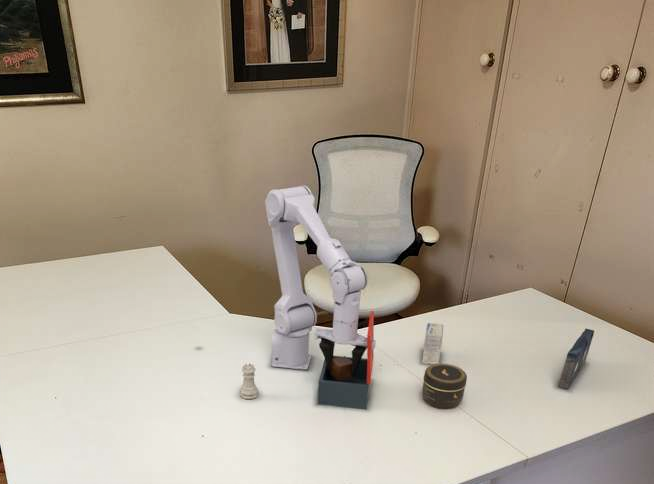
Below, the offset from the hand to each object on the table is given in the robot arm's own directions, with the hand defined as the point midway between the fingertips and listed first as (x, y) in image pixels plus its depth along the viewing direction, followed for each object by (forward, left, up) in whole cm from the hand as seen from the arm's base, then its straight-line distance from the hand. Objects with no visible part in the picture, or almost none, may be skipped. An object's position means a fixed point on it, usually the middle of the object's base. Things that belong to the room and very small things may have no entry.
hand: (341, 370), depth 149 cm
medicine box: (+23, +23, -6) cm, 33 cm away
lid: (+6, 0, +7) cm, 9 cm away
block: (0, 0, -1) cm, 1 cm away
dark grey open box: (+1, 0, -6) cm, 6 cm away
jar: (+25, +1, -6) cm, 25 cm away
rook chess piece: (-21, -6, -6) cm, 23 cm away
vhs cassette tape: (+60, +21, -6) cm, 63 cm away
